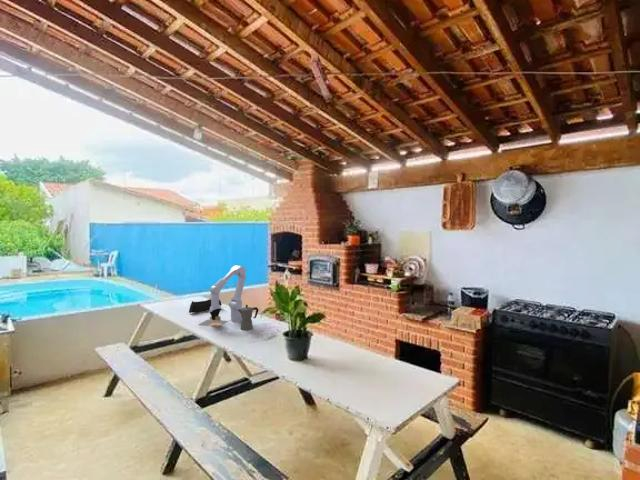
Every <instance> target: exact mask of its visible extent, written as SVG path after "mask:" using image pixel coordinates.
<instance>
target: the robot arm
mask: <svg viewBox="0 0 640 480" xmlns="http://www.w3.org/2000/svg"><path fill="white" fill-rule="evenodd" d="M246 272H247V269H246V268H245V267H244V266H242V265H237V264H235V265H233V266H232V267H231V268H230V270H229V271H228V272H227V274H226V275H225V276H224V277H223V278H219V279H218V281H216V283H214V285H212V286H211V287H210V289H209V292H210V299H211V307H210V309H209V313H210V317H212V320H215V318H216V316H220V312H221V310H222V305H219V299H220V293H221V290H222V289H223V288H224V287H225V286H226V285H227V282H228V281H229V280H230V279H231V278H232V277H233V276H237V277H238V279H237V282H236V287H235V291H234V295H233V297H232V298H231V300H230V301H229V303H228V306H229V309H230V319H229V320H228V322H237V323H241V322H242V317H241V314H240V312H239V311H238V309H241V308H243V304H242V303H243V300H242V295H243V289H244V285H245V282H246V278H247V277H246V276H247V275H246Z"/></svg>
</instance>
